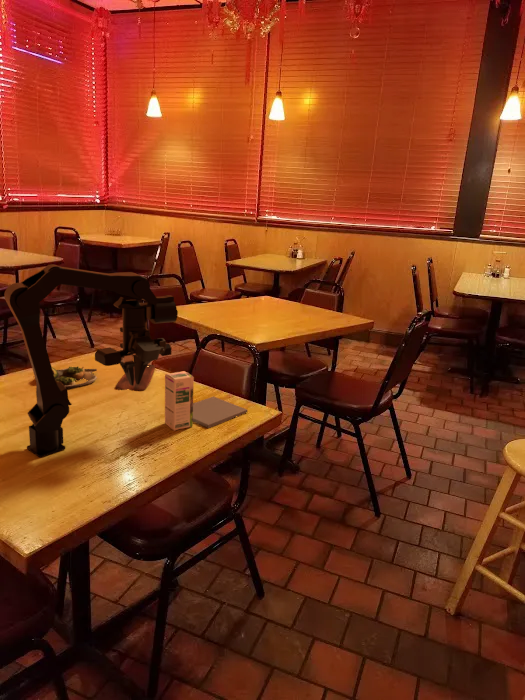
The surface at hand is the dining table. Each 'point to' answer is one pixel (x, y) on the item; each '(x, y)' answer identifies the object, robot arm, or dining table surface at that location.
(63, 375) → the salad plate
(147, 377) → the wooden tablet
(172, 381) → the syrup box
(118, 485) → the dining table surface
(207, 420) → the slate board
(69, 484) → the dining table surface
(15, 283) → the robot arm
